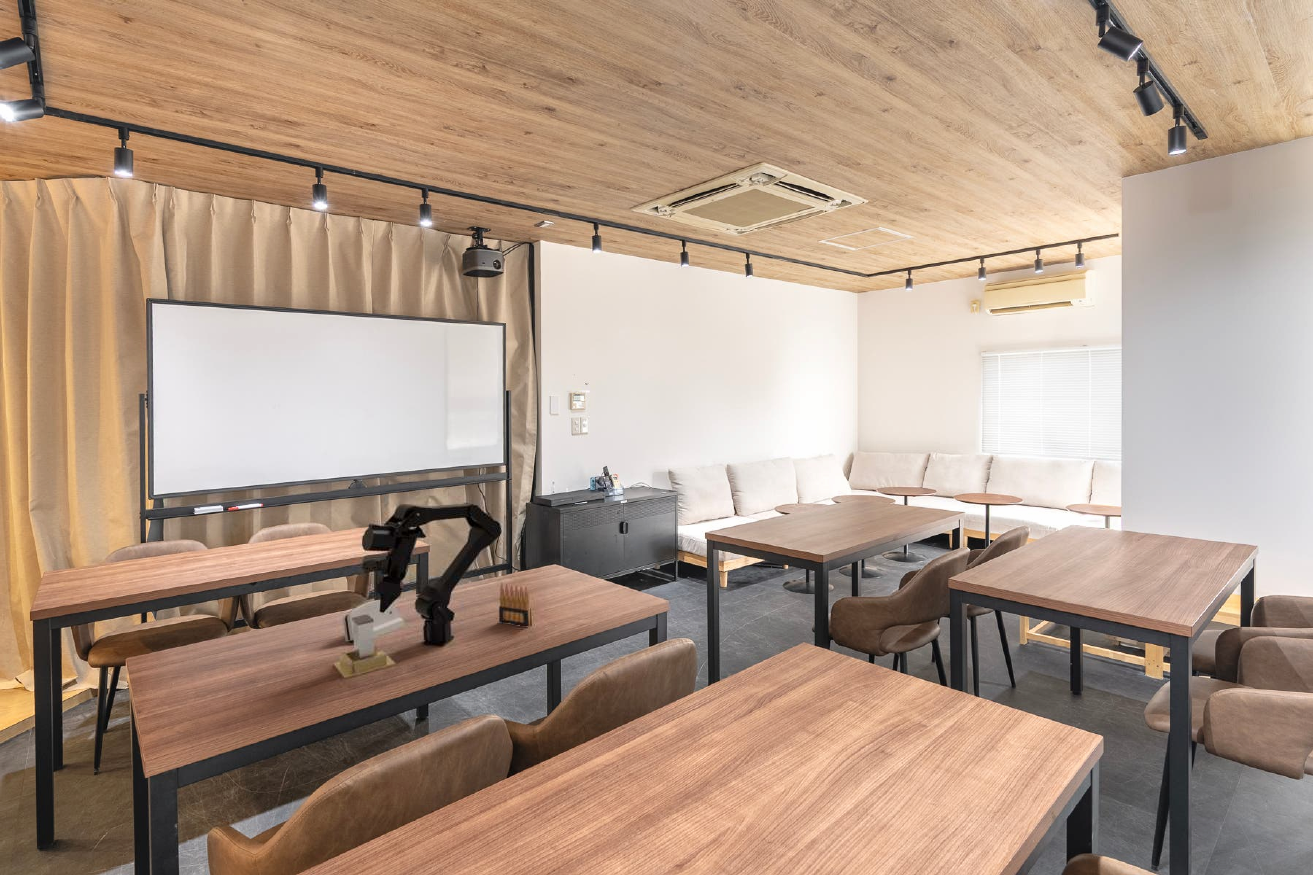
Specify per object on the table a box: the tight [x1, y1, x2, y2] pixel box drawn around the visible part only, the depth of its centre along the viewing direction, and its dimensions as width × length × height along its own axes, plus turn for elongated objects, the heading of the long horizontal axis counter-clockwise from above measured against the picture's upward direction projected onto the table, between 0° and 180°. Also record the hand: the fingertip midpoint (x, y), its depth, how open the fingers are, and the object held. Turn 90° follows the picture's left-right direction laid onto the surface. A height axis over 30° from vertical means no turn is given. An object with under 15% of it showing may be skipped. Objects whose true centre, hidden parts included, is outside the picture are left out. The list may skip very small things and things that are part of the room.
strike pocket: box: [333, 644, 396, 679], centre depth 164 cm, size 12×11×3 cm
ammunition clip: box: [498, 583, 533, 627], centre depth 191 cm, size 11×2×12 cm, turn 65°
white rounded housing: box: [342, 599, 406, 643], centre depth 187 cm, size 17×5×10 cm, turn 151°
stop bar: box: [352, 614, 375, 661], centre depth 164 cm, size 4×5×12 cm
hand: (384, 604), depth 172 cm, fingers open, 9 cm apart
